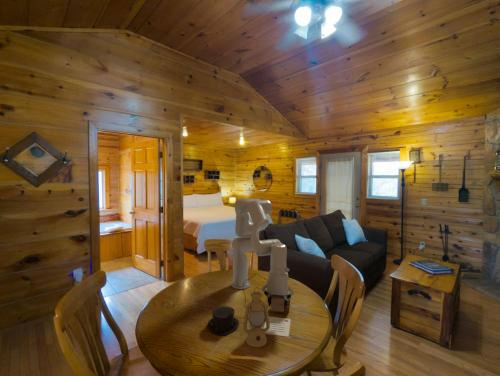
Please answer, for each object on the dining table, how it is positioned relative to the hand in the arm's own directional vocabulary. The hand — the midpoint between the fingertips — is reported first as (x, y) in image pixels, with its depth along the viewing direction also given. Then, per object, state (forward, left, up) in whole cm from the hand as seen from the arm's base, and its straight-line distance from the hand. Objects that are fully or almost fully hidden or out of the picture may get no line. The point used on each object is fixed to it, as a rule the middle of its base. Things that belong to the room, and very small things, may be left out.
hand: (277, 305), depth 118 cm
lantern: (+13, -7, -10) cm, 18 cm away
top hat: (+5, -25, -10) cm, 28 cm away
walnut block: (0, 0, -1) cm, 1 cm away
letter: (0, 0, -10) cm, 10 cm away
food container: (-13, -1, -10) cm, 16 cm away
